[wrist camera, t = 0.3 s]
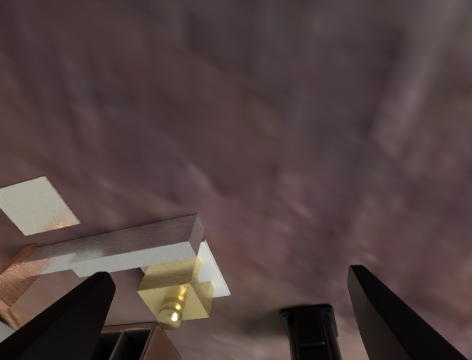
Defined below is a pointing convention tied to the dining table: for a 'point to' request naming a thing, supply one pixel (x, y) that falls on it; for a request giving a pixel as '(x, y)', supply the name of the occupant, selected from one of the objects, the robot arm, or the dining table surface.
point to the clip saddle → (176, 292)
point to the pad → (208, 271)
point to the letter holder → (134, 343)
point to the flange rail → (84, 240)
